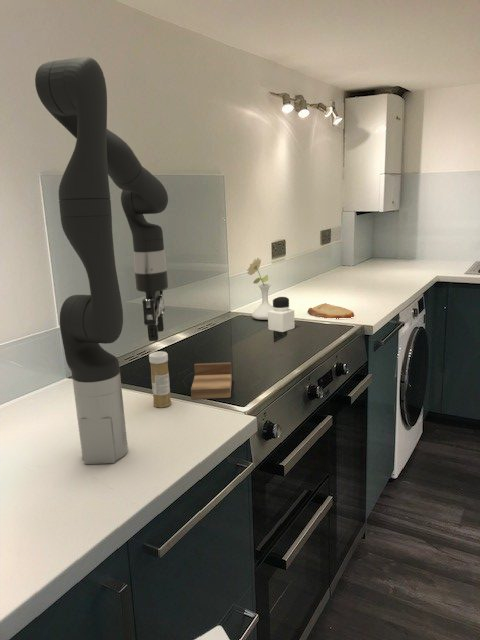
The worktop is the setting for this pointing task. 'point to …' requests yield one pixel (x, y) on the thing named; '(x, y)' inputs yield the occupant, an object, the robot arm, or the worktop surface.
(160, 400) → the sprinkles bottle
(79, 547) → the worktop surface
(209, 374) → the dock
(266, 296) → the flower in vase
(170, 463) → the worktop surface
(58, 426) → the worktop surface
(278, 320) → the medicine bottle
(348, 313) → the slice of bread
